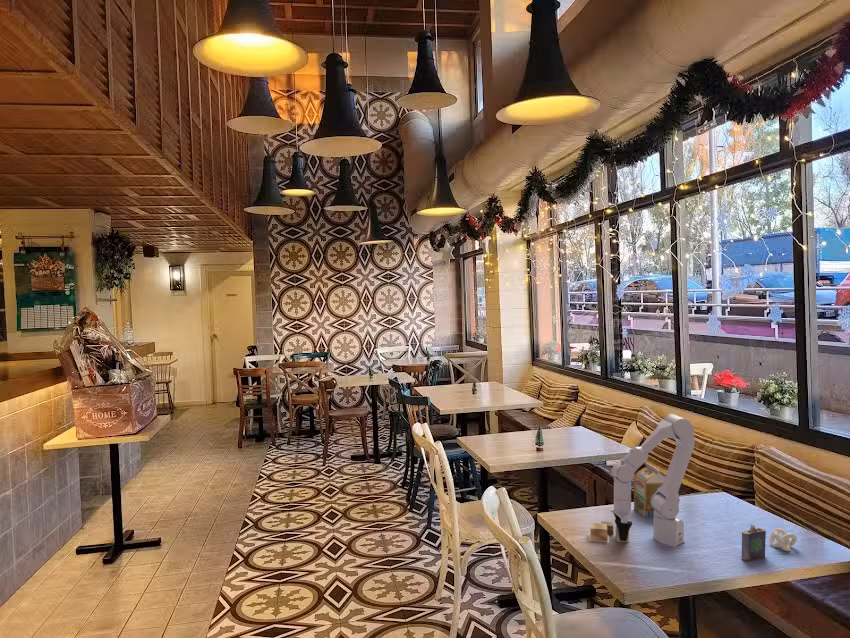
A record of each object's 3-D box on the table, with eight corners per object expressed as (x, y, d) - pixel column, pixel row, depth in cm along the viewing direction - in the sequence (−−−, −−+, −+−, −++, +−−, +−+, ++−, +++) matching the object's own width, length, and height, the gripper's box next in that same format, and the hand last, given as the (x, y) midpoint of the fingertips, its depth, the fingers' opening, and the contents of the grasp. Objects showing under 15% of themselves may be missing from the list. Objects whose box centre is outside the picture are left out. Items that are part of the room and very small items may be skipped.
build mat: (637, 540, 208) (637, 538, 208) (615, 551, 199) (615, 549, 199) (601, 528, 219) (601, 526, 219) (578, 538, 209) (578, 536, 209)
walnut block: (612, 530, 216) (612, 522, 216) (613, 534, 212) (613, 526, 212) (601, 529, 217) (601, 521, 217) (601, 533, 213) (601, 525, 213)
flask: (746, 561, 190) (746, 528, 190) (738, 558, 193) (738, 525, 193) (767, 557, 193) (767, 525, 193) (759, 554, 196) (760, 522, 196)
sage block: (627, 538, 208) (627, 523, 208) (628, 542, 205) (628, 528, 204) (615, 537, 209) (615, 523, 209) (616, 541, 206) (616, 527, 205)
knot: (762, 545, 203) (762, 528, 203) (779, 541, 206) (779, 525, 206) (782, 553, 196) (782, 536, 196) (799, 550, 199) (799, 532, 199)
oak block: (606, 535, 211) (606, 524, 211) (607, 541, 206) (607, 529, 206) (590, 533, 212) (590, 522, 212) (590, 539, 207) (590, 528, 207)
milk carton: (634, 509, 239) (634, 463, 238) (659, 509, 240) (659, 462, 239) (645, 519, 228) (645, 470, 228) (672, 518, 229) (672, 469, 229)
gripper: (609, 490, 215) (609, 527, 215) (611, 503, 201) (611, 543, 201) (629, 491, 213) (629, 529, 213) (633, 505, 199) (633, 545, 199)
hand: (622, 536), depth 207 cm, fingers open, 7 cm apart
